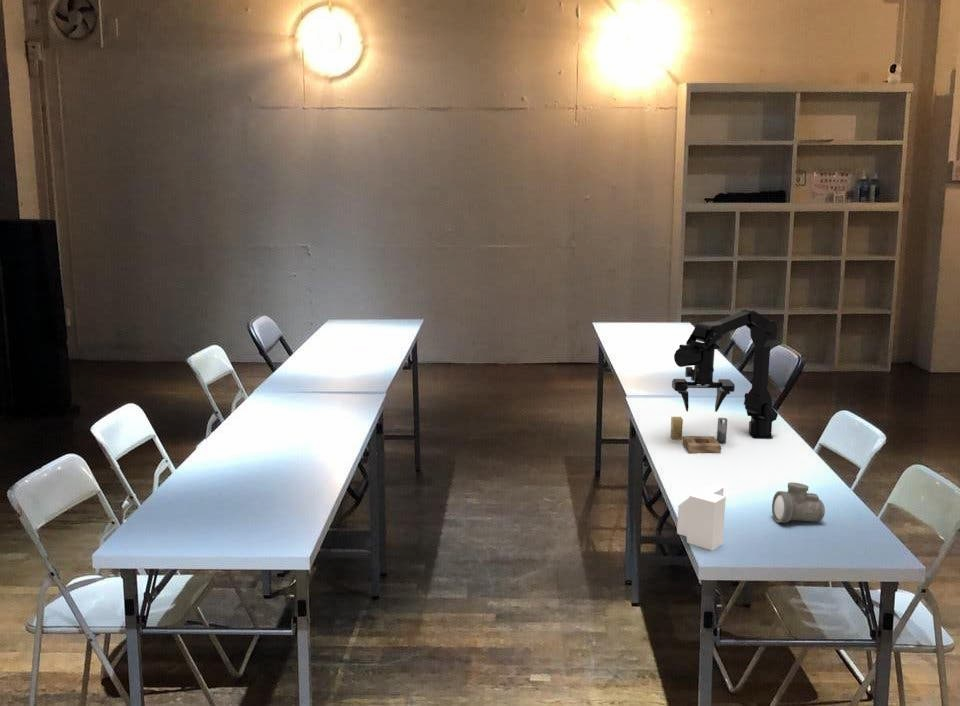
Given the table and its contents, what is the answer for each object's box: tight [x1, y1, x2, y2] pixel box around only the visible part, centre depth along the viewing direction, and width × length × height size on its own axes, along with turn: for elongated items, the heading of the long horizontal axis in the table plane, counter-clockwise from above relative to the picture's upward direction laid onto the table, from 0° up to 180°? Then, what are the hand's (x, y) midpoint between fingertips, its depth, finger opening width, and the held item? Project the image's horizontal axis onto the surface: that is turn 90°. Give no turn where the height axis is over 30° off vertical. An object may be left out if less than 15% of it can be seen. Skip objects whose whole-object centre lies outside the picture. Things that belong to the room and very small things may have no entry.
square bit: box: [669, 416, 684, 441], centre depth 307 cm, size 3×3×7 cm
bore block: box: [682, 435, 722, 454], centre depth 296 cm, size 10×10×3 cm
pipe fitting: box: [771, 481, 826, 524], centre depth 237 cm, size 12×8×10 cm
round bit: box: [716, 417, 728, 445], centre depth 302 cm, size 3×3×8 cm
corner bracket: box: [676, 484, 727, 551], centre depth 226 cm, size 11×11×12 cm
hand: (701, 411), depth 295 cm, fingers open, 9 cm apart
